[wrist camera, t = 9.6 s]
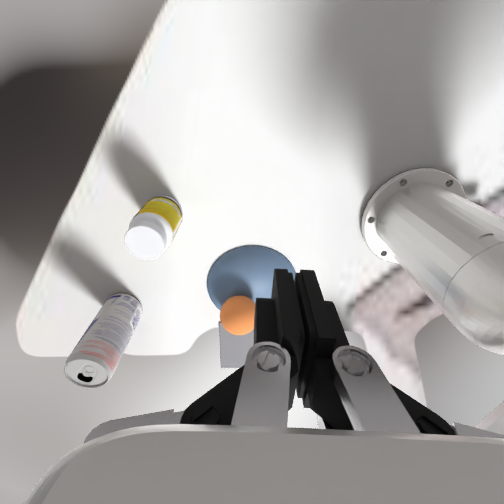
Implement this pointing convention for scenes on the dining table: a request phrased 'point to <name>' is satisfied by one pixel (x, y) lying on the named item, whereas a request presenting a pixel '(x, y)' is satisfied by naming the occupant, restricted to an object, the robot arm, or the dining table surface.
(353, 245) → the dining table surface
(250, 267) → the disc
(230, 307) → the ball
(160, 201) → the supplement bottle
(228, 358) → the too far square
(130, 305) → the energy drink
